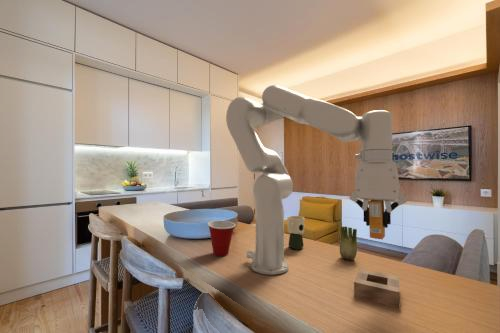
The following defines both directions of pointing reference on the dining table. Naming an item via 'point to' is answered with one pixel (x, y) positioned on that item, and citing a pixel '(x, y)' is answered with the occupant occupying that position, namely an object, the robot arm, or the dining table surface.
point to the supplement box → (376, 219)
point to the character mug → (296, 231)
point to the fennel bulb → (348, 243)
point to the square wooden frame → (377, 287)
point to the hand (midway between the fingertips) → (376, 225)
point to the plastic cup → (221, 236)
